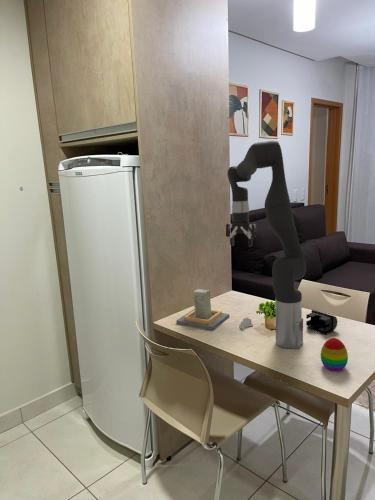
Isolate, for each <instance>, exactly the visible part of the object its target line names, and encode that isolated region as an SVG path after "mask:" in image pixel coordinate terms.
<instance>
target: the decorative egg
mask: <svg viewBox="0 0 375 500" xmlns="http://www.w3.org/2000/svg"><path fill="white" fill-rule="evenodd" d="M320 360H321V363H322V365H323V366H324V368H325V369H326V370H328V371H331V372H341V371H343V370H344V369H345V368H346V366H347V364H348V361H349V354H348V349H347V347H346V345H345V343H344V342H343V341H341V340H340V339H339V338H336V337H331V338H329V339H327V340H326V341H325V342H324V343H323V345H322V347H321V351H320Z"/></svg>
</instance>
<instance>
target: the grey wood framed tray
mask: <svg viewBox="0 0 375 500" xmlns="http://www.w3.org/2000/svg"><path fill="white" fill-rule="evenodd" d="M229 318H230V313H223V312H222V311H221V310H216V309H211V317H210V318H208V319H201V318H195V308H193V309H191V310H190V311H188V312H187V313H186V314H184V315H183V316H181V317H180V318H178V319H177V320H176V321H175V322H176V325H180V326H186V327H192V328H197V329H203V330H207V331H208V330H210V331H215V330H216V329H217V328H218V327H220V326H221V325H222V324H223V323H225V322H226V321H227V320H228V319H229Z"/></svg>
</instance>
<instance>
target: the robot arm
mask: <svg viewBox="0 0 375 500" xmlns="http://www.w3.org/2000/svg"><path fill="white" fill-rule="evenodd" d="M282 151H283V150H282V147H281V145H280V143H279V141H277V140H275V139H271V140H270V139H269V140H263V141H260V142H255V143H252V144H251V145H250V146H249V148H248V150H247V152H246V154H245V155H244V156H245V157H244V158H243V160H241V162H240V163H238V164H237V166H235V165H234V166H233V165H232V166H230V167H228V170H227V173H226V174H227V178H228V182H229V185H230V188H231V189H230V190H231V195H232V196H231V197H232V198H231V199H232V204H231V210H232V211H231V214H232V215H231V216H232V218H231V221H232V222H229V223H226V225H225V237H228V238H229V245H230V246H231V247H234V246H235V236H236V234H241V235H242V234H244V235H245V236H246V237H247V238H248V239H247V242H248V243H247V245H248V248H251V247H252V246H253V243H254V238H256V237H258V236H257V235H258V233H257V232H258V231H257V223H253V224H251V223H250V205H249V190H248V188H247V187H243V186H239V185H238V183H246V182H249V181H251V179H252V175H254V174H255V173H256V172H257V170H258V169H266V168H270V167H271V171H272V172H271V173H272V174H271V175H272V179H271V183H270V187H269V189H268V191H267V194H266V197H265V200H264V210H265V211H264V212H265V214H266V220H267V223H268V226H269V227H270V229H271V230H272V231H273V233H274V235H275V236H276V237H277V238H278V239H279V241H280V243H281V246H282V249H283V254H284V256H281V257H278V258H276V259H275V260H274V261H273V264H272V268H271V271H272V272H271V273H272V274H271V275H272V276H271V277H272V290H273V293H274V295H275V344H276V345H277V346H278V347H280V348H283V349H300V347H301V346H302V344H303V343H304V318H303V317H302V314H303V313H302V307H303V306H302V305H303V304H302V303H303V301H302V300H303V298H302V292H301V290H299V289H295V282H294V281H297V280H301V279H302V278H304V277H305V275H306V273H307V263H306V259H305V255H304V253H303V250H302V246H301V244H300V240H299V236H298V231H297V228H296V224H295V218H294V212H293V208H292V203H291V198H290V195H289V190H288V187H287V181H286V173H285V166H284V156H283V153H282ZM231 229H233V230H232V232H231ZM250 229H251V231H250Z"/></svg>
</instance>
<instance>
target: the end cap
mask: <svg viewBox="0 0 375 500" xmlns="http://www.w3.org/2000/svg"><path fill="white" fill-rule="evenodd" d="M305 318H306V319H308V320H306V322H305V323H306V324H305V325H306V329H307V330H310V331H314V332H315V333H319V334H322V335H325V336H327V335H329V334H331V333H333V332H334V331H335V330H336V328H337V326H338V318H337V317H336V315H333V314H329V313H326V312H322V311H319V310H317V309H312V310H311V312H310V313H308V314H306V316H305ZM309 318H310V319H309Z"/></svg>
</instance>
